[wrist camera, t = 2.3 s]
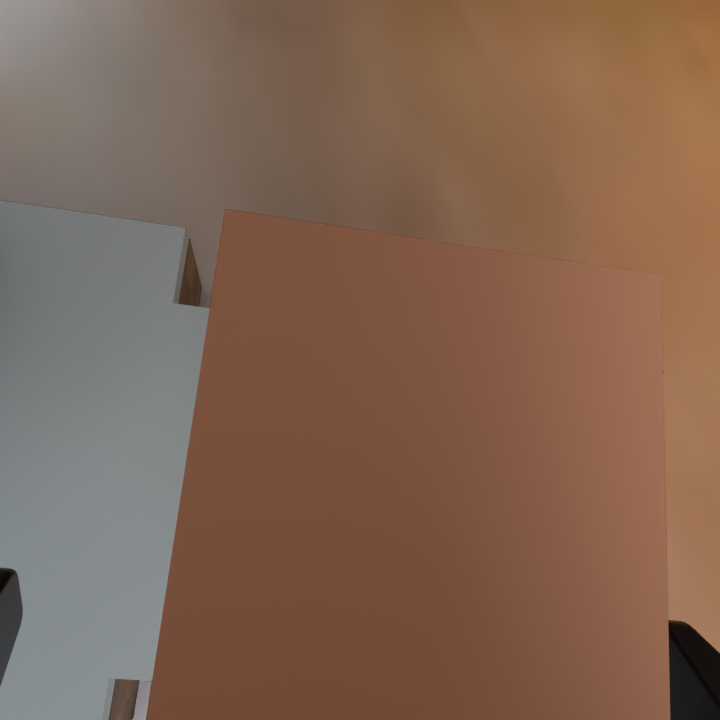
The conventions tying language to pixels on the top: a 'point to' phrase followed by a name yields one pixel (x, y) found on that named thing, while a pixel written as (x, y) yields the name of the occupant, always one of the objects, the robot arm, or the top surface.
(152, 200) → the top surface
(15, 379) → the lid
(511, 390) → the salmon brown tall block
